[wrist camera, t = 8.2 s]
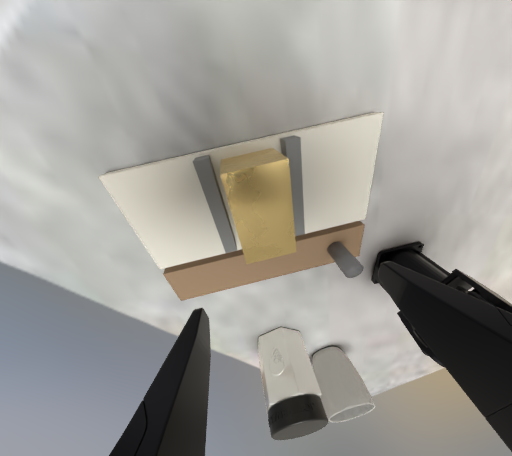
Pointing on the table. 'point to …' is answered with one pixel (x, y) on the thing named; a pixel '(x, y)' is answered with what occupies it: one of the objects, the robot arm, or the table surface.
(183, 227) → the door board
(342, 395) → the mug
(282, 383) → the jar
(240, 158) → the bar
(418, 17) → the table surface
